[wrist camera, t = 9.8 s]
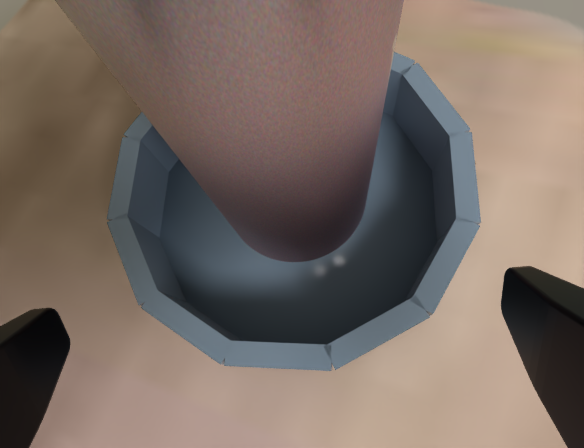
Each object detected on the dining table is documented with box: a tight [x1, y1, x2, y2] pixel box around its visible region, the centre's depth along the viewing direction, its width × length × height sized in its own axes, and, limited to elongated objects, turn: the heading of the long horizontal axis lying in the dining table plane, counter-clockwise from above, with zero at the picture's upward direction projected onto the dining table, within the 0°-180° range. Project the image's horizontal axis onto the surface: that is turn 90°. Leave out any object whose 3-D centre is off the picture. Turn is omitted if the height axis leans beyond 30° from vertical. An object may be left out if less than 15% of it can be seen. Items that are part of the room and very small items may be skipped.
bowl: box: [107, 52, 481, 371], centre depth 17 cm, size 14×14×4 cm
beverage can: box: [55, 0, 404, 262], centre depth 11 cm, size 6×6×15 cm
